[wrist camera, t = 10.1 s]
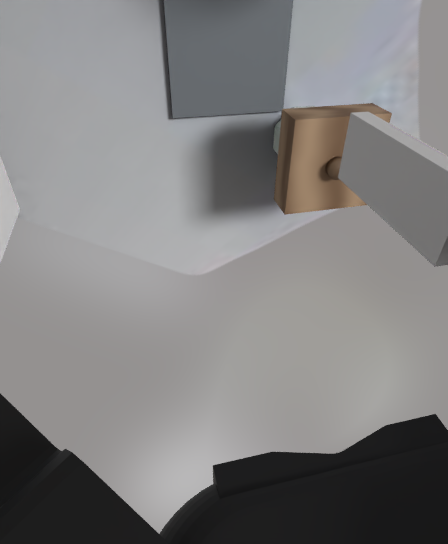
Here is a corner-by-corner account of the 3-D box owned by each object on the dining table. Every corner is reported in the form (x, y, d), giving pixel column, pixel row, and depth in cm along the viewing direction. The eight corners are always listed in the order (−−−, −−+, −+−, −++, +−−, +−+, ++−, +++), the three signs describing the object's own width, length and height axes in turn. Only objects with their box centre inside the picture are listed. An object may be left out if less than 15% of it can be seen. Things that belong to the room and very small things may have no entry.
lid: (273, 199, 50) (287, 218, 46) (282, 109, 43) (299, 123, 39) (352, 190, 52) (372, 208, 48) (372, 103, 45) (397, 116, 41)
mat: (172, 116, 47) (172, 118, 47) (162, -17, 39) (162, -17, 39) (281, 109, 50) (282, 111, 49) (292, -17, 42) (294, -17, 41)
